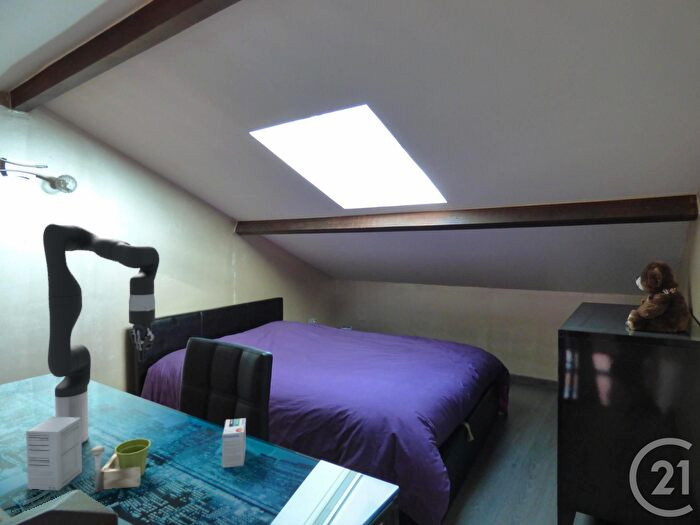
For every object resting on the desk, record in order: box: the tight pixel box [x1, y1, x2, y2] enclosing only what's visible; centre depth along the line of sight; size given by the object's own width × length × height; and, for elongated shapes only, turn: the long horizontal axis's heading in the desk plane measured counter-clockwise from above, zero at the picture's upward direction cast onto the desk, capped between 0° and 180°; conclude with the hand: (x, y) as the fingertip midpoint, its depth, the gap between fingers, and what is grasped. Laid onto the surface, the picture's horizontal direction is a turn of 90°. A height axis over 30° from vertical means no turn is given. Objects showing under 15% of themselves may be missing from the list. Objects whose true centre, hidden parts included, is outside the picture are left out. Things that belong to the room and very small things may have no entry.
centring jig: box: [90, 445, 141, 493], centre depth 111 cm, size 14×10×12 cm
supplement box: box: [25, 416, 83, 491], centre depth 113 cm, size 10×9×17 cm
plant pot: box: [114, 438, 152, 477], centre depth 116 cm, size 9×9×9 cm
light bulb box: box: [221, 417, 247, 468], centre depth 126 cm, size 11×7×11 cm, turn 12°
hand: (142, 361), depth 127 cm, fingers closed
